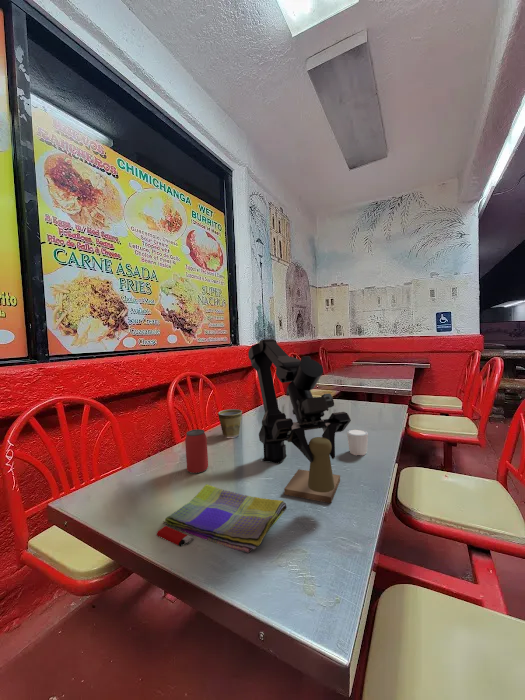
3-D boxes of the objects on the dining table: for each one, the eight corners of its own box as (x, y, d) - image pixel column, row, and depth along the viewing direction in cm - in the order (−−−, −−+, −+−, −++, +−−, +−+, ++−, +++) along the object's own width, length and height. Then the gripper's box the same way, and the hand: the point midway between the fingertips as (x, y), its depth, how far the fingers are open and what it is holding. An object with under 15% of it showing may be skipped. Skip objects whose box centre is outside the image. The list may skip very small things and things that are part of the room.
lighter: (167, 524, 66) (193, 535, 62) (167, 529, 66) (193, 541, 62) (156, 532, 64) (183, 544, 59) (156, 538, 64) (183, 550, 59)
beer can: (212, 468, 95) (210, 431, 95) (194, 476, 90) (192, 436, 90) (200, 463, 100) (198, 427, 99) (182, 470, 95) (180, 432, 94)
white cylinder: (346, 455, 101) (345, 434, 100) (348, 447, 107) (348, 428, 107) (368, 457, 98) (367, 436, 98) (369, 449, 104) (368, 429, 104)
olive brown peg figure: (334, 493, 66) (333, 444, 65) (307, 491, 67) (305, 443, 66) (334, 479, 72) (333, 434, 71) (308, 478, 73) (307, 433, 72)
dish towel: (208, 490, 83) (208, 480, 83) (291, 509, 72) (290, 498, 72) (160, 527, 67) (159, 515, 67) (256, 559, 56) (256, 545, 56)
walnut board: (284, 494, 78) (284, 488, 77) (298, 474, 88) (298, 469, 88) (331, 503, 73) (330, 497, 72) (340, 480, 83) (340, 475, 83)
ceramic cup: (242, 439, 121) (241, 414, 121) (217, 440, 122) (216, 415, 121) (244, 429, 134) (243, 407, 134) (222, 430, 134) (221, 408, 134)
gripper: (273, 386, 69) (292, 450, 59) (346, 379, 74) (374, 438, 64) (265, 411, 77) (280, 471, 68) (331, 403, 82) (354, 459, 72)
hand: (323, 460), depth 68 cm, fingers closed on olive brown peg figure, 5 cm apart
